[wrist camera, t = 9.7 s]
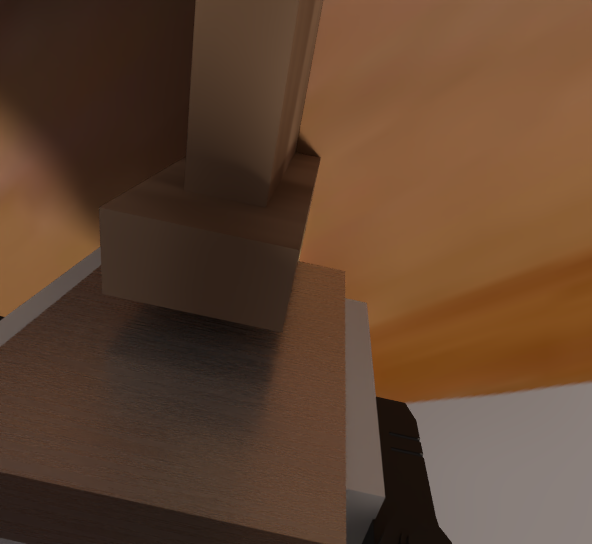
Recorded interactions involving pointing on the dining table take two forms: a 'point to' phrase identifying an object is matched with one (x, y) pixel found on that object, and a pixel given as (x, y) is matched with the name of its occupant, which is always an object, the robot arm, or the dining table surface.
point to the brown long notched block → (226, 175)
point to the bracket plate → (175, 422)
